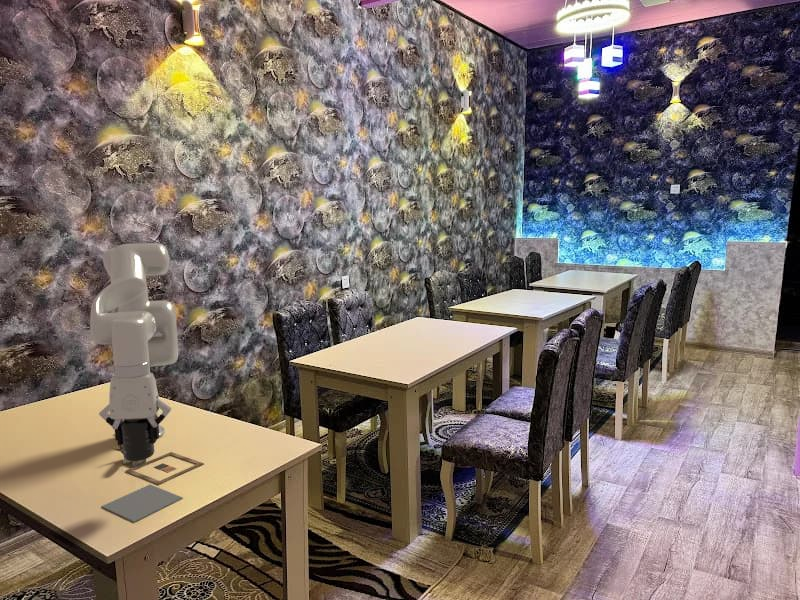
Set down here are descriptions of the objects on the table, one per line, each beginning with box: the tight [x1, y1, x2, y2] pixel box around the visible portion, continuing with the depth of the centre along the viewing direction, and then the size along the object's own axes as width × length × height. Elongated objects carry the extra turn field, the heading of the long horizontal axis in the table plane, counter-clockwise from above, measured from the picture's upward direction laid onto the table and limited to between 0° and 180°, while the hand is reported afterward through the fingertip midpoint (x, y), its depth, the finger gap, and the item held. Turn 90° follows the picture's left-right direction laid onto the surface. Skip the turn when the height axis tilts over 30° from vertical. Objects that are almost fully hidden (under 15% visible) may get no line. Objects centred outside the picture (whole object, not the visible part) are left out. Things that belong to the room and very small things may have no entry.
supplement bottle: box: [121, 419, 155, 462], centre depth 138 cm, size 7×7×12 cm
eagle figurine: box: [111, 445, 147, 467], centre depth 162 cm, size 8×7×9 cm
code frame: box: [124, 451, 205, 486], centre depth 159 cm, size 14×14×1 cm
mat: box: [101, 484, 184, 524], centre depth 141 cm, size 13×13×1 cm
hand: (138, 441), depth 138 cm, fingers closed on supplement bottle, 6 cm apart
